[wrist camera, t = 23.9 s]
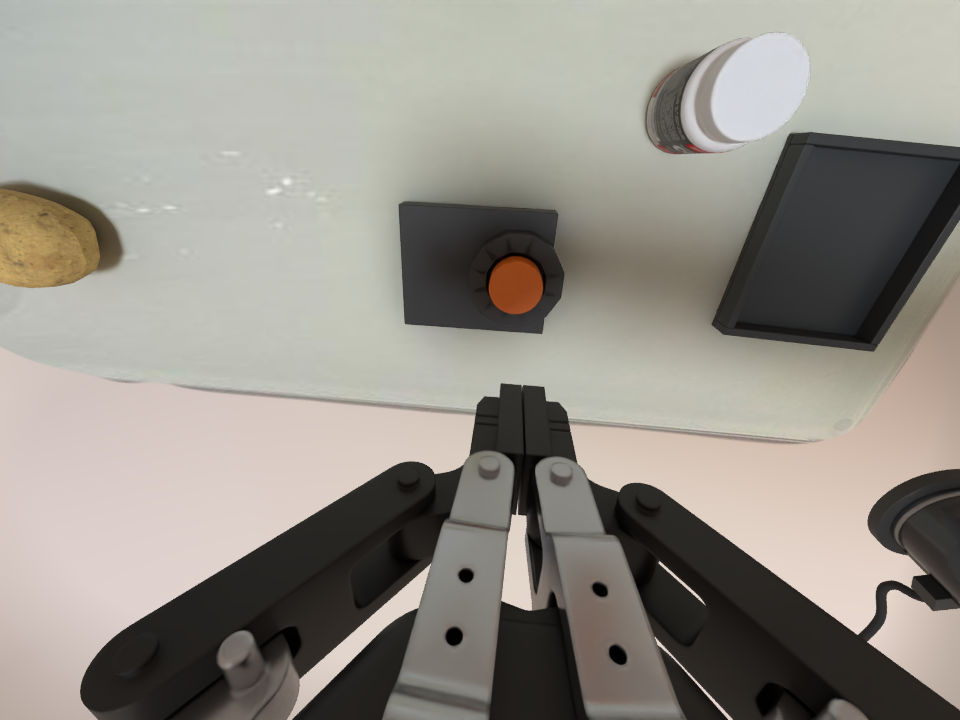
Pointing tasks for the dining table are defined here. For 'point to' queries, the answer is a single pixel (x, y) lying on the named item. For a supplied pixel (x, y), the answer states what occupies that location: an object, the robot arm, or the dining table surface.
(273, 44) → the dining table surface
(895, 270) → the shallow black tray
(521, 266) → the timer button
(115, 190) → the dining table surface
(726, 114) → the pill bottle
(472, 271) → the black button base
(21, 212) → the potato
